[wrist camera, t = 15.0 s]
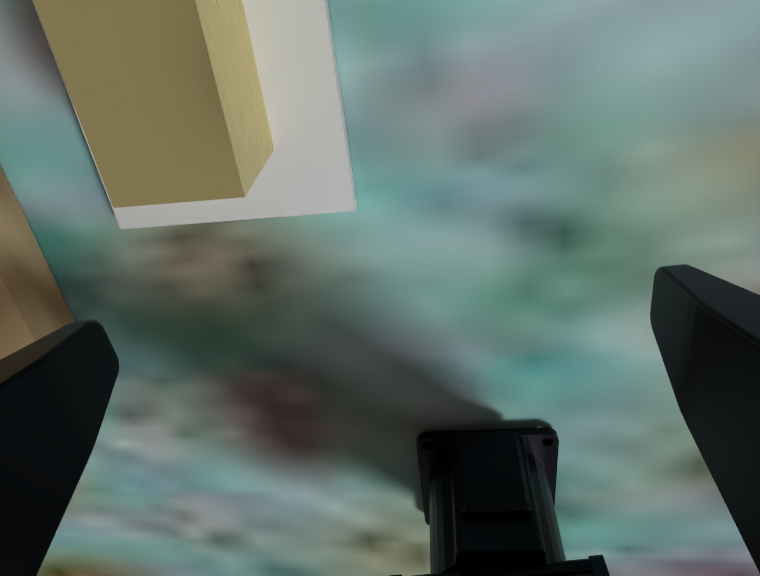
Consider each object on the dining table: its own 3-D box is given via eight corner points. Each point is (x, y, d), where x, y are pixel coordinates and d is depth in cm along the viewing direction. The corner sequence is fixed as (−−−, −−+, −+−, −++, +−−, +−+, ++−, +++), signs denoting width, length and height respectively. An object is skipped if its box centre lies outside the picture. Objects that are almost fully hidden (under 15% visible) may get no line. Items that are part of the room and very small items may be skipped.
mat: (357, 203, 22) (355, 211, 21) (127, 222, 23) (120, 229, 22) (296, -216, 15) (292, -220, 15) (-19, -165, 16) (-33, -167, 16)
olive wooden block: (274, 149, 20) (244, 197, 17) (163, 159, 21) (112, 207, 17) (222, -92, 17) (172, -92, 13) (88, -73, 17) (6, -69, 14)
